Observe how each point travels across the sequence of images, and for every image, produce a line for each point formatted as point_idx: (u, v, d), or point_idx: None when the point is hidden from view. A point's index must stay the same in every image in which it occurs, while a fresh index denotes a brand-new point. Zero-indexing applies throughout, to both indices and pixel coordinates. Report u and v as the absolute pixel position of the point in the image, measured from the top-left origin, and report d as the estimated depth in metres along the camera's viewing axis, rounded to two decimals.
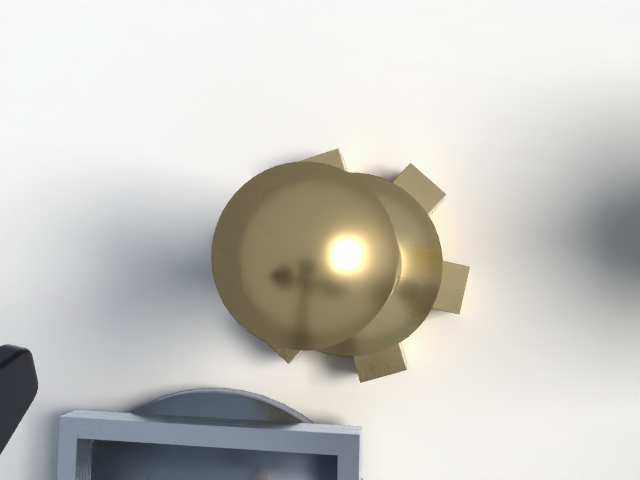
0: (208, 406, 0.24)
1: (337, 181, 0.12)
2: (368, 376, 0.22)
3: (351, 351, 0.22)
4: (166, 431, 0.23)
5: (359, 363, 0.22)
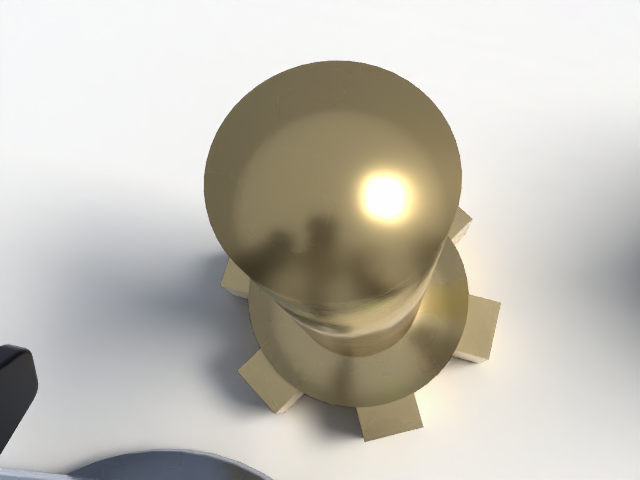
0: (168, 469, 0.19)
1: (382, 84, 0.09)
2: (375, 433, 0.18)
3: (354, 401, 0.18)
4: None
5: (364, 416, 0.18)
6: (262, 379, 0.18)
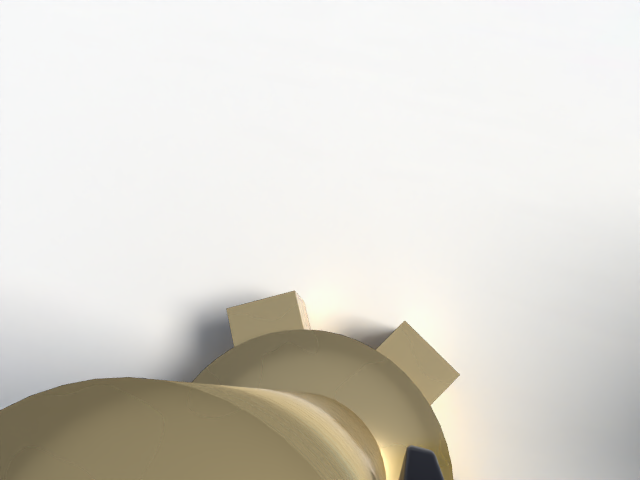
0: None
1: (229, 446, 0.04)
2: None
3: None
4: None
5: None
6: None
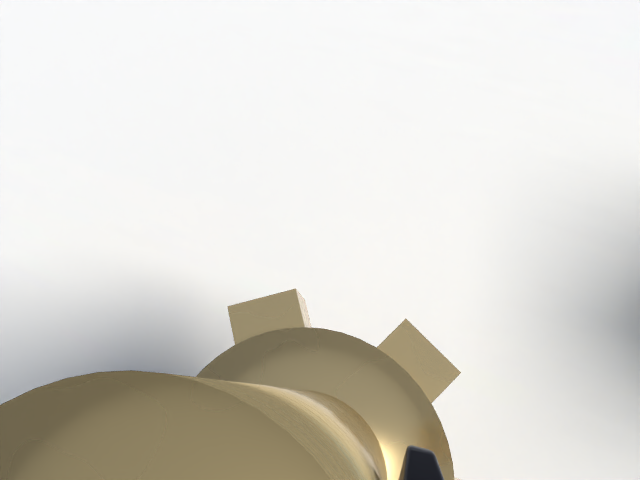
0: None
1: (232, 437, 0.04)
2: None
3: None
4: None
5: None
6: None
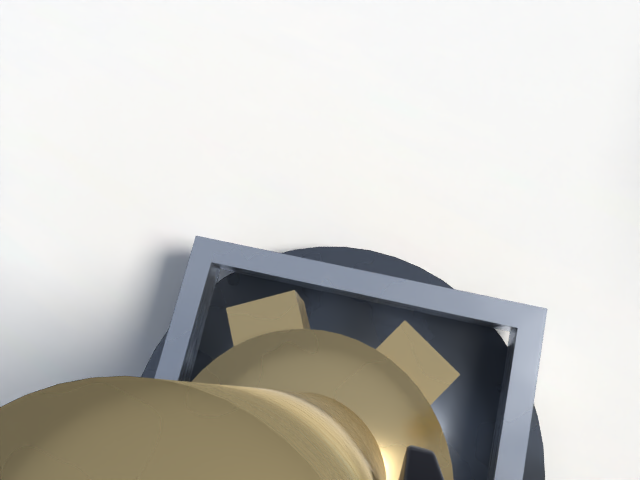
0: (360, 264, 0.21)
1: (227, 445, 0.04)
2: None
3: None
4: (318, 270, 0.20)
5: None
6: None
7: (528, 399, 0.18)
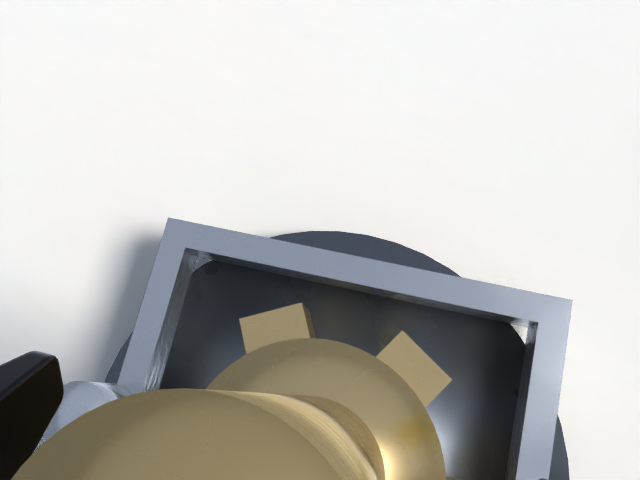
0: (356, 250, 0.18)
1: (260, 440, 0.06)
2: None
3: None
4: (307, 257, 0.17)
5: None
6: None
7: (551, 405, 0.15)
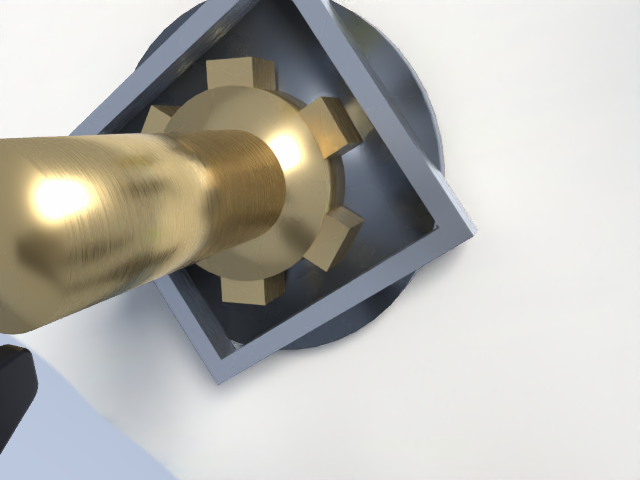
0: None
1: None
2: (327, 261, 0.20)
3: (298, 253, 0.21)
4: (138, 78, 0.23)
5: (312, 257, 0.21)
6: (239, 292, 0.22)
7: (320, 8, 0.19)
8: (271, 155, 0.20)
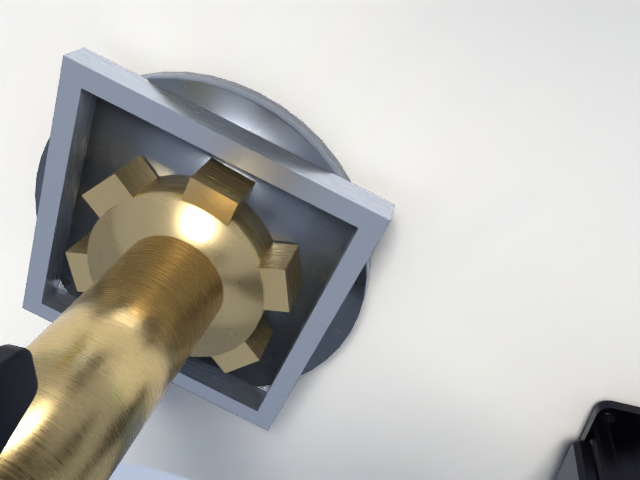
0: None
1: None
2: (284, 303, 0.21)
3: (258, 308, 0.22)
4: (42, 232, 0.23)
5: (270, 306, 0.21)
6: (233, 360, 0.23)
7: (142, 99, 0.19)
8: (183, 247, 0.20)
